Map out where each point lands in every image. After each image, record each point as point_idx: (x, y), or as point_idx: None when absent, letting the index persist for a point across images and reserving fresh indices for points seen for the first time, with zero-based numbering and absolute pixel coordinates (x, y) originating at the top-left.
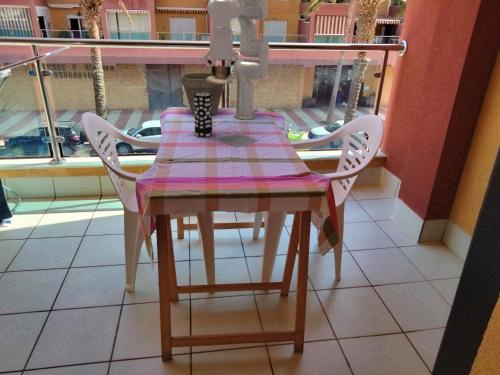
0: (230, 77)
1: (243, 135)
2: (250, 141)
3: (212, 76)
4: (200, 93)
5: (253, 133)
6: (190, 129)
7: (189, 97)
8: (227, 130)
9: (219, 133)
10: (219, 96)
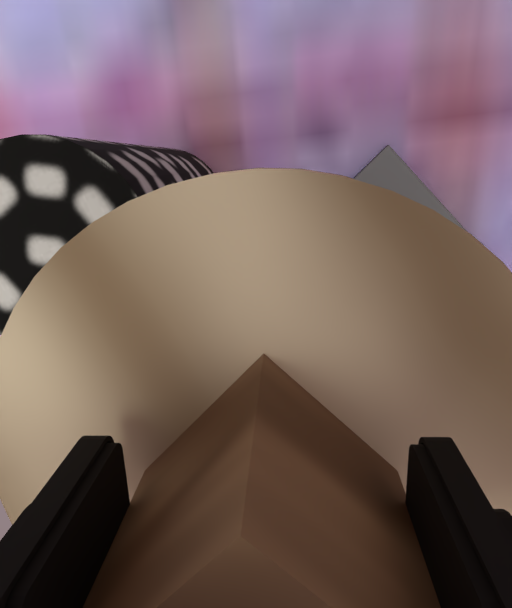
0: (466, 344)
1: (427, 192)
2: None
3: (61, 296)
4: (4, 198)
5: (506, 106)
6: (58, 62)
7: None
8: (318, 52)
9: (265, 136)
10: None
